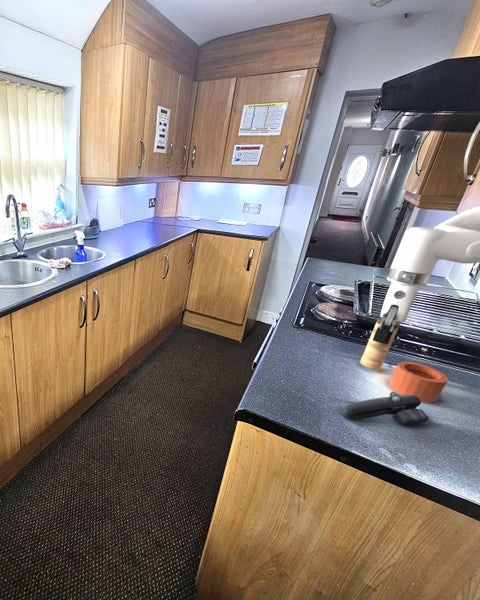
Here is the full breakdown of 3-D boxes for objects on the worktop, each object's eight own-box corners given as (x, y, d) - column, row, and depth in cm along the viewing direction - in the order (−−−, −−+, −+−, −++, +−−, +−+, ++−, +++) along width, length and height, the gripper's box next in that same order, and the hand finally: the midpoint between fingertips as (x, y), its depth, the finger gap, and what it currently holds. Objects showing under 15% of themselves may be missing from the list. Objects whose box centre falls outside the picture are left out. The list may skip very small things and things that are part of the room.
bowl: (423, 387, 87) (434, 365, 84) (444, 409, 79) (457, 385, 77) (381, 380, 90) (391, 358, 87) (398, 400, 82) (409, 377, 80)
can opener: (401, 405, 80) (411, 387, 77) (430, 427, 73) (441, 407, 71) (330, 407, 79) (337, 388, 77) (353, 429, 73) (361, 409, 71)
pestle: (376, 362, 95) (395, 319, 90) (383, 371, 91) (403, 326, 86) (357, 359, 96) (374, 316, 91) (363, 367, 92) (382, 323, 87)
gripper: (426, 287, 76) (395, 355, 83) (430, 273, 86) (402, 334, 93) (384, 279, 81) (358, 343, 88) (392, 267, 91) (369, 325, 98)
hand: (381, 338), depth 90 cm, fingers closed on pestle, 4 cm apart
